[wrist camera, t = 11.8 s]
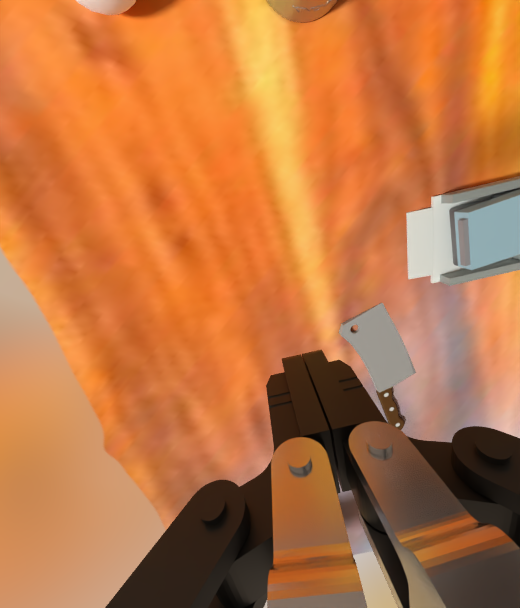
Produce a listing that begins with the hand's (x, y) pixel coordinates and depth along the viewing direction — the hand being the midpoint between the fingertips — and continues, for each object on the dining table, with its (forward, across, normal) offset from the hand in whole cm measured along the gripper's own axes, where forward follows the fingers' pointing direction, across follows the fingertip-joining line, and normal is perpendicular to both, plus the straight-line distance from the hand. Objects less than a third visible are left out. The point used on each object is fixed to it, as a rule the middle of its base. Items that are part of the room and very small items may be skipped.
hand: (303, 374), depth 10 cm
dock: (+27, -27, +4) cm, 38 cm away
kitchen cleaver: (+28, -16, +23) cm, 39 cm away
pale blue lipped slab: (+27, -29, +3) cm, 39 cm away
